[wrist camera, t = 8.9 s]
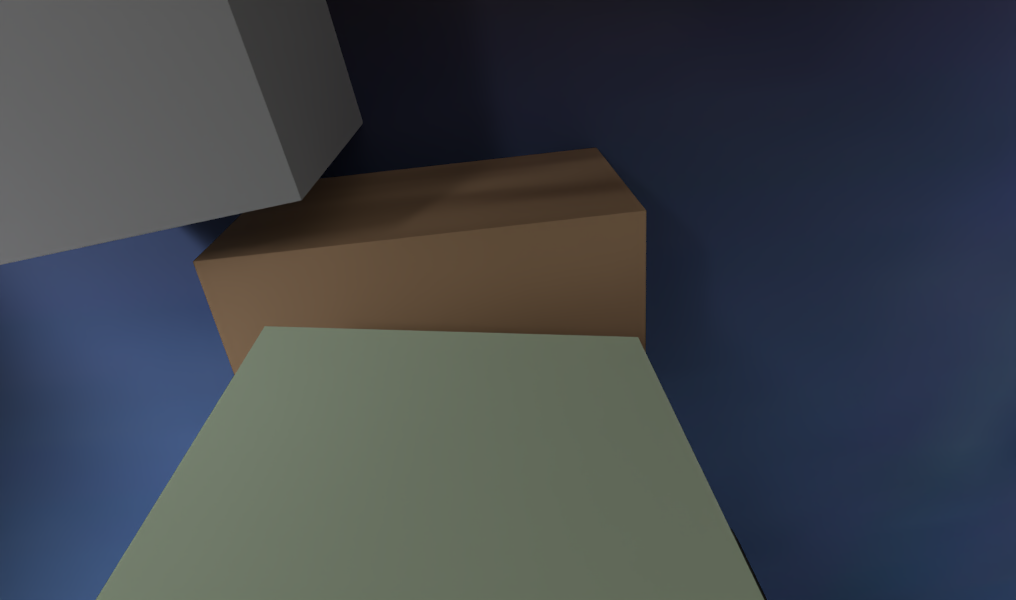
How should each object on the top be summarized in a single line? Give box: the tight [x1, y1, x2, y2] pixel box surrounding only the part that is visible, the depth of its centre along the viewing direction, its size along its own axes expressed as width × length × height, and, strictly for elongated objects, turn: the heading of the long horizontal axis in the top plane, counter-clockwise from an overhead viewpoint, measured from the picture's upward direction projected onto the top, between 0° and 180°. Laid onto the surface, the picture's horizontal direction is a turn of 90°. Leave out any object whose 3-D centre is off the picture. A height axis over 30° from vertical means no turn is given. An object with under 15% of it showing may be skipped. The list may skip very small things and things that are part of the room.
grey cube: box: [0, 0, 363, 265], centre depth 11 cm, size 6×6×6 cm
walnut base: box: [193, 148, 646, 375], centre depth 15 cm, size 8×8×5 cm
